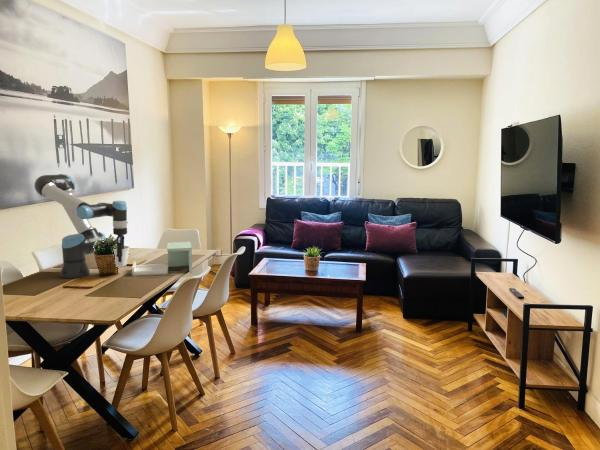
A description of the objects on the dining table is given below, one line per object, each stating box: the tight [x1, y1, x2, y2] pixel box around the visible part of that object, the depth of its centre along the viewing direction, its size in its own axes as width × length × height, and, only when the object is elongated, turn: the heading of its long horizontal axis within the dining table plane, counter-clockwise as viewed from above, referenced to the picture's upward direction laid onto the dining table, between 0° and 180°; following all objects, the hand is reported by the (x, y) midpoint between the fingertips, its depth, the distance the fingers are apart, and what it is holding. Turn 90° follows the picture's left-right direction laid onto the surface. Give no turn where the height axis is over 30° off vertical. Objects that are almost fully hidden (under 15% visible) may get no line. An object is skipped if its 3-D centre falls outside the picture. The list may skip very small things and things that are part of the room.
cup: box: [113, 245, 130, 268], centre depth 261 cm, size 10×10×11 cm
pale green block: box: [166, 241, 193, 274], centre depth 272 cm, size 14×19×16 cm
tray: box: [131, 260, 169, 277], centre depth 267 cm, size 20×16×5 cm
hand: (121, 265), depth 262 cm, fingers closed on cup, 8 cm apart
